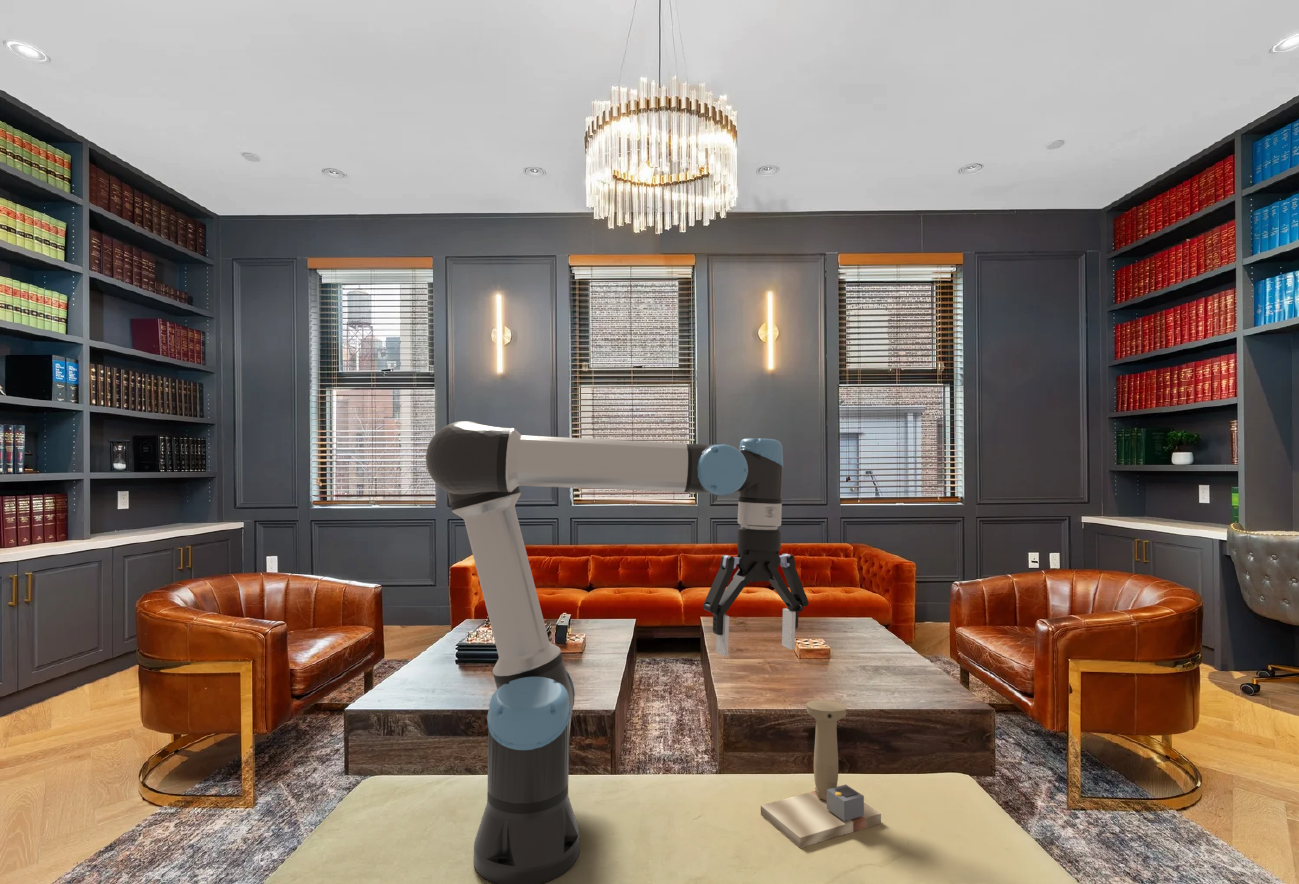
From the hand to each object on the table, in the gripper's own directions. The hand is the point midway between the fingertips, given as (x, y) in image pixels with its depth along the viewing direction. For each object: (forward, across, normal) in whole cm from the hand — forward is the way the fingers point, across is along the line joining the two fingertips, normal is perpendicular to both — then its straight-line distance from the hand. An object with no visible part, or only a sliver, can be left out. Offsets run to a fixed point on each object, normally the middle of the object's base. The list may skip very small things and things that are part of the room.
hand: (755, 650), depth 109 cm
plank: (+24, +6, -10) cm, 27 cm away
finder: (+23, +9, -13) cm, 27 cm away
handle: (+23, +10, -8) cm, 26 cm away
